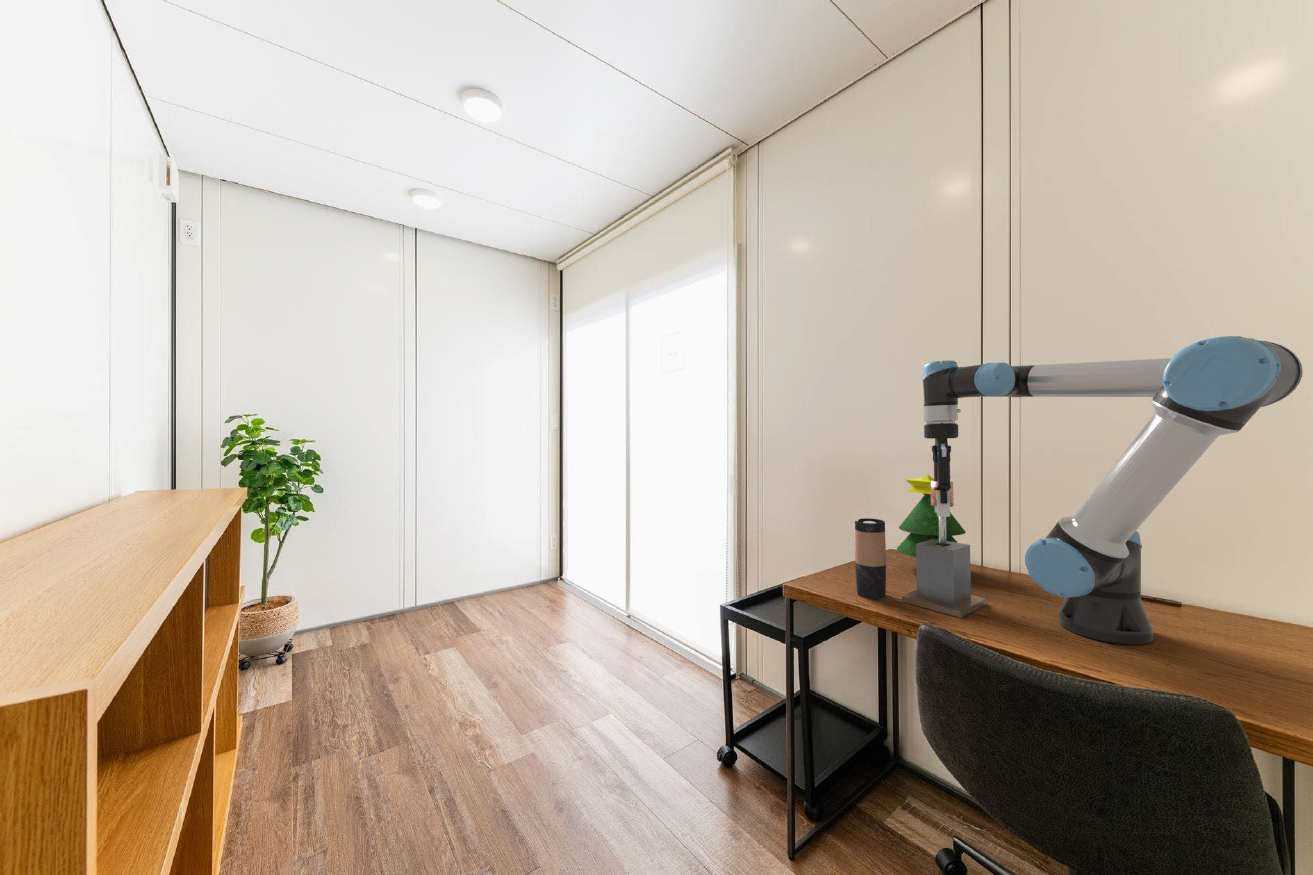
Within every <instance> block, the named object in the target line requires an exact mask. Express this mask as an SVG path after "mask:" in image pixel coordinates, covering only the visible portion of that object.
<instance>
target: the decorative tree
mask: <svg viewBox="0 0 1313 875" xmlns="http://www.w3.org/2000/svg"><path fill="white" fill-rule="evenodd" d="M905 481H906V482H907V483H908V484H909V485H911V487H910V488H909V489H908V490H907V491H906V492H909V493H916V494H917V493H918V494H922V495H923V496H922V497H921V499H920V500H919V501H918V503H916V505H915V506H914V507H913V509H912V510H911V512H909V514H908V515H907V516H906V517H905V519H904V520H903V521H902V522H901V524H899V526H898V529H899V530H901V531H903V532H906V533H909V534H908V535H907V536H906V537H905V539H904V540H903V541H902V542H901V543H900V544H899V545H898V546H897V548H896V550H897V552H899V553H900V554H902V555H906V556H909V557H915V558H916V544H918V543H921V542H924V541H928V540H931V539H937V540H939V516H937V513H936V512H935V506H932V505H931V481H934V477H933V476H930V474H926V475H925V476H924V477H920V478H919V477H917V478H910V479H908V478H907V479H905ZM966 532H967V531H966V530H965V529H964V528H963V526H962V525H961V524H960V522H959V521H958V520H957V519H956V518H955V516H954V515H953V514H952V512H950V517H946V541H950V542H956V543H959V542H958V541H957V540H956V539H955V538H954V536H962V535H964V534H966Z"/></svg>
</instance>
